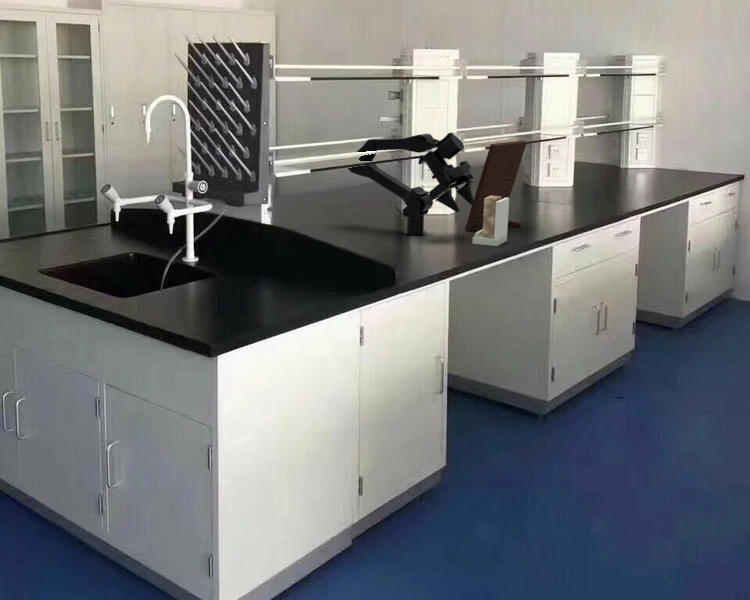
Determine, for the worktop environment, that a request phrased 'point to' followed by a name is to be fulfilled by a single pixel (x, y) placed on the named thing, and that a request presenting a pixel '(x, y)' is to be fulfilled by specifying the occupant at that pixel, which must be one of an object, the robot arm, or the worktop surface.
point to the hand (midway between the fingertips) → (465, 207)
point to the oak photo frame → (489, 216)
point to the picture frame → (496, 179)
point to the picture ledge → (496, 226)
